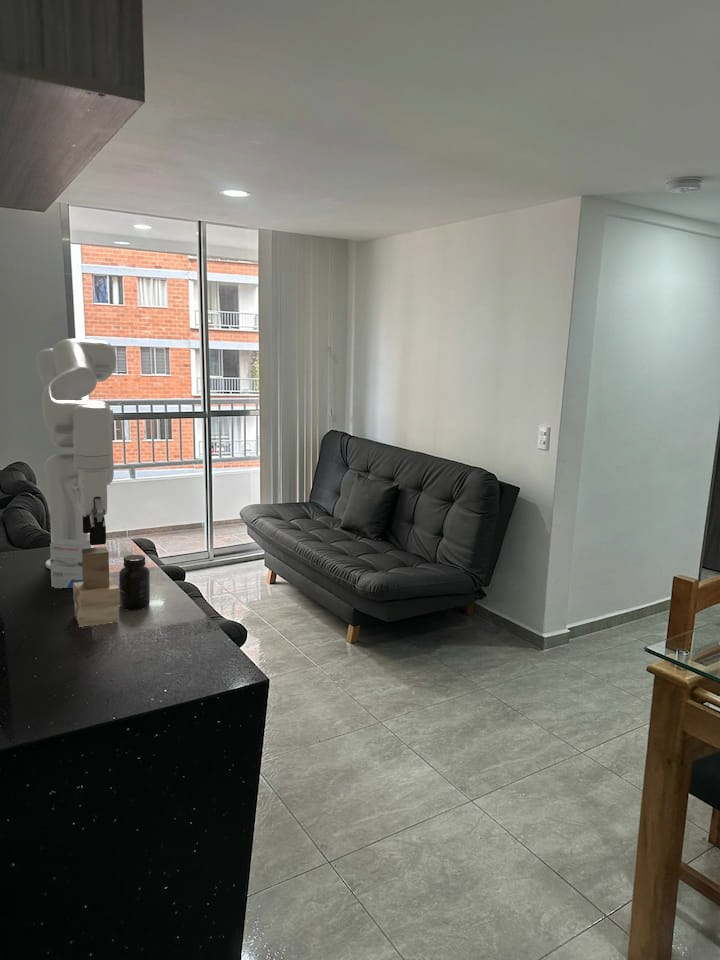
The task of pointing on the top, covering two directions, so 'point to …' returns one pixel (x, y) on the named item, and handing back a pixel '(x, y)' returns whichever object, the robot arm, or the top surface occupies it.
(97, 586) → the walnut block
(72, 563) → the ink box
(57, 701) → the top surface
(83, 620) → the lower maple slab
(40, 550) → the top surface
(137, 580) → the supplement bottle
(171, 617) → the top surface
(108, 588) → the upper maple slab
